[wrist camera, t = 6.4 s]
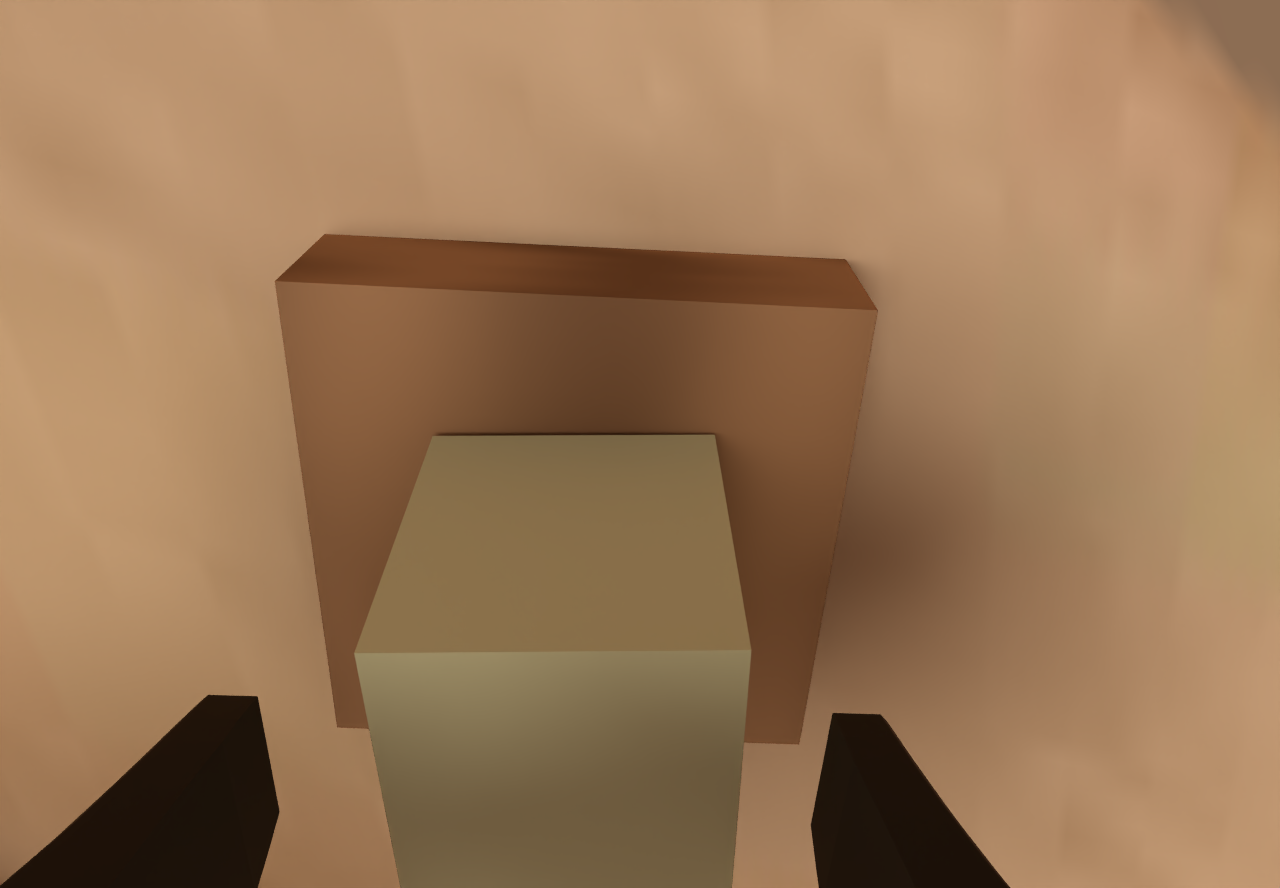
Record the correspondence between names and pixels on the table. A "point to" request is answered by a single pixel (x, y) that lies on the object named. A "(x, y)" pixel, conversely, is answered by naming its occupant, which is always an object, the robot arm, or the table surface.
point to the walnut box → (580, 405)
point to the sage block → (560, 666)
